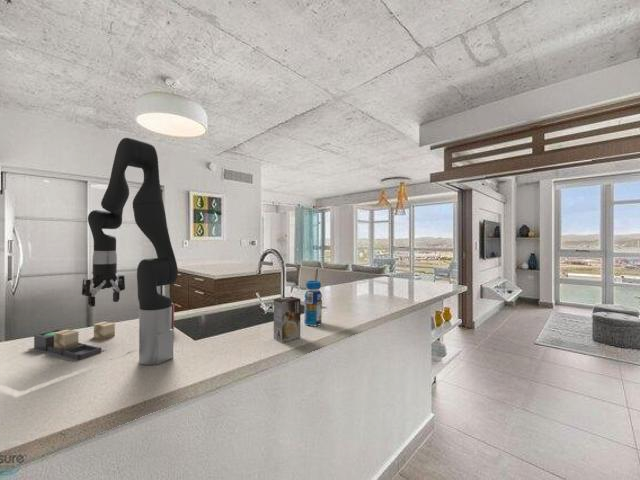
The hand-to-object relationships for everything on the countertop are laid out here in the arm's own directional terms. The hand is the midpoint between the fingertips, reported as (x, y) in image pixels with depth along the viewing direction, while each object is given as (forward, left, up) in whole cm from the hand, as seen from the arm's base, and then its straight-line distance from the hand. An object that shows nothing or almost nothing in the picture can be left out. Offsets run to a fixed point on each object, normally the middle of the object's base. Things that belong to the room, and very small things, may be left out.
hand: (104, 303), depth 112 cm
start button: (+6, +14, -11) cm, 19 cm away
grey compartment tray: (-3, +14, -14) cm, 19 cm away
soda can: (-14, -15, -14) cm, 25 cm away
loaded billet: (-2, +14, -13) cm, 19 cm away
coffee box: (-64, -30, -14) cm, 72 cm away
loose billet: (0, 0, -14) cm, 14 cm away
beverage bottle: (-66, -52, -14) cm, 85 cm away
